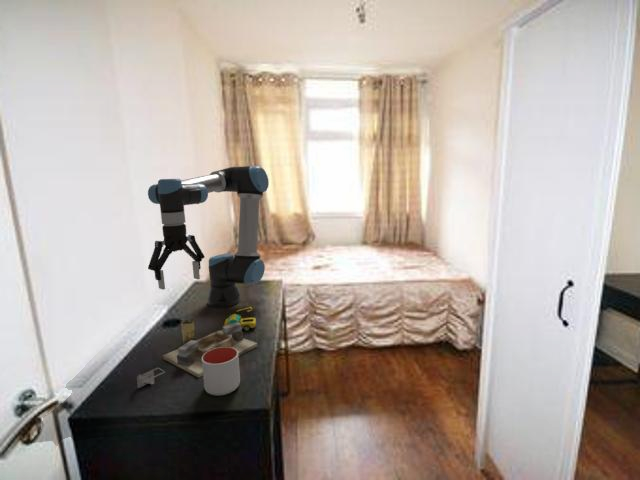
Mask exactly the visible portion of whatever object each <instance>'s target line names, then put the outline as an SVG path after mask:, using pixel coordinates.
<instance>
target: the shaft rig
mask: <svg viewBox="0 0 640 480" xmlns="http://www.w3.org/2000/svg"><path fill="white" fill-rule="evenodd" d="M242 330H243V329H242V327H241V324H240V323H239V322H237V323H233V324H230V325H226V326H224V325H223V326H222V329H219V330H217V331H214V332H213V333H210V334H209V335H206V336H203V337H201V338H198V339H196V341H194V340H191V341H189V342H188V343H186V344H184V345H181V346H179V347H178V348H177V349H174V350H172V351H170V352H168V353H165V354H163V355H162V359H163V360H164V361H167V362H168V363H170V364H172V365H174V366H176V367H178V368H179V369H182V370H184V371H185V372H187V373H190V375H193V376H194V377H197V378H202V377H203V369H202V356H203V355H204V354H205V353H206V352H208V351H209V350H212V349H215V348H219V347H231V348H234V349H236V350H237V351H238V357H240V356H242V355H244V354H245V353H247V352H249V351H251V350H253V349H255V348H257V347H258V343H257V342H255V341H253V340H250V339H246V338H244V332H243V331H242Z"/></svg>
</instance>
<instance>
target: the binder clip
mask: <svg viewBox="0 0 640 480" xmlns="http://www.w3.org/2000/svg"><path fill="white" fill-rule="evenodd" d="M157 370H160V371H162V372H161V373H158V374H156V375H155V373H154V372H155V371H157ZM165 373H166V371H165V370H164V369H162V368H160V367H156V368H153V369H151V370H149V371H147V372H144V373H142V374H140V373H138V376H136V381H137V389H139V388H142V387H144V386H146V385H148V384H150V385H154V384H155V378H157V377H159V376H160V375H163V374H165Z"/></svg>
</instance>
